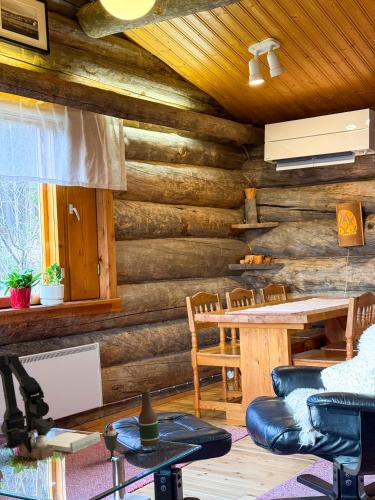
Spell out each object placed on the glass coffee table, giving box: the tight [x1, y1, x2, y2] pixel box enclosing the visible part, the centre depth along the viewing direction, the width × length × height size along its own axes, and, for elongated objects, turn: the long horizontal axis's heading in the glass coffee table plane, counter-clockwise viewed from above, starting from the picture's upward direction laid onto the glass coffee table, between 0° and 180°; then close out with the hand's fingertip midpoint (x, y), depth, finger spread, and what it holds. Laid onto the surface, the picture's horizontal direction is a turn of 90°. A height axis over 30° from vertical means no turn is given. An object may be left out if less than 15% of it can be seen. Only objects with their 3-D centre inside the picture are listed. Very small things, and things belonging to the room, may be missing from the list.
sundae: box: [101, 422, 120, 463], centre depth 277 cm, size 7×7×15 cm
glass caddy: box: [18, 433, 55, 460], centre depth 292 cm, size 14×6×8 cm, turn 53°
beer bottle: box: [138, 388, 161, 446], centre depth 286 cm, size 8×8×24 cm
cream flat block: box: [46, 431, 101, 454], centre depth 303 cm, size 20×16×4 cm
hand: (36, 450), depth 292 cm, fingers closed on glass caddy, 6 cm apart
